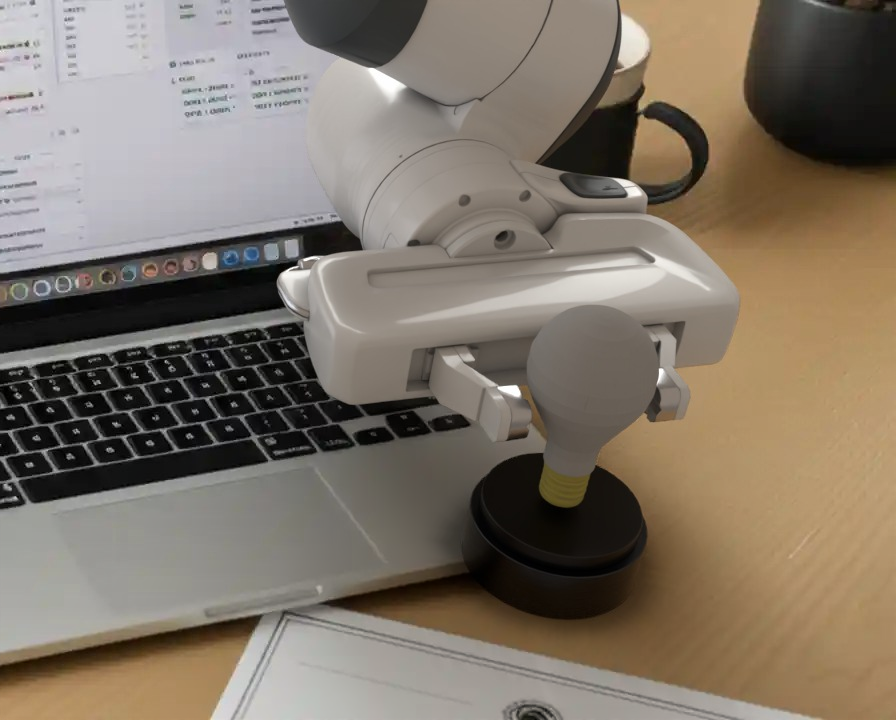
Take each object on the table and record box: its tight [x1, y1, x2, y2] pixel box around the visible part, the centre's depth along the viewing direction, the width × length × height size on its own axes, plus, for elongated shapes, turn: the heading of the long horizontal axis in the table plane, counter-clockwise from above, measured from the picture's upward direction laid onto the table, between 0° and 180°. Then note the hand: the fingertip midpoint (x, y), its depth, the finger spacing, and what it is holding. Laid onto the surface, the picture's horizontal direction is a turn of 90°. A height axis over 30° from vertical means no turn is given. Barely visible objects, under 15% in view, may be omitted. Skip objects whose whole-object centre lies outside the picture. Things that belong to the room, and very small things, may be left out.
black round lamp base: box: [460, 452, 648, 620], centre depth 75 cm, size 8×8×3 cm
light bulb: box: [527, 305, 659, 508], centre depth 71 cm, size 5×6×10 cm
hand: (595, 418), depth 70 cm, fingers open, 6 cm apart
